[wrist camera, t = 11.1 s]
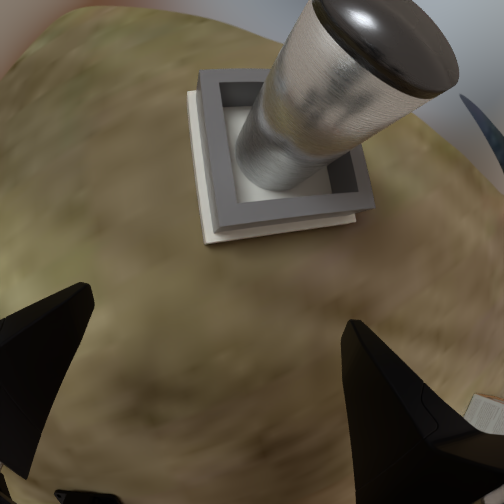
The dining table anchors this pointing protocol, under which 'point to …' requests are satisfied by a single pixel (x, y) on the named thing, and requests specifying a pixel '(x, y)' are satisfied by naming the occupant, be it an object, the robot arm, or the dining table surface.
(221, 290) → the dining table surface
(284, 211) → the holder
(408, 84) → the black-capped silver cylinder
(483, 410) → the small box
